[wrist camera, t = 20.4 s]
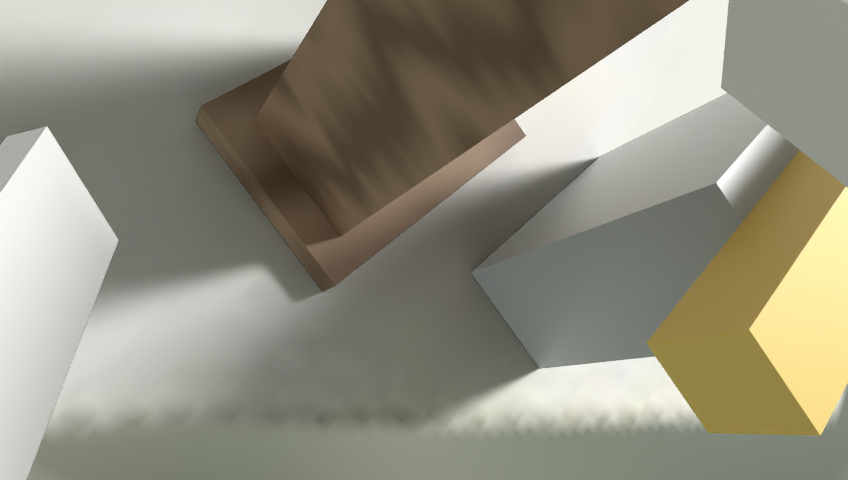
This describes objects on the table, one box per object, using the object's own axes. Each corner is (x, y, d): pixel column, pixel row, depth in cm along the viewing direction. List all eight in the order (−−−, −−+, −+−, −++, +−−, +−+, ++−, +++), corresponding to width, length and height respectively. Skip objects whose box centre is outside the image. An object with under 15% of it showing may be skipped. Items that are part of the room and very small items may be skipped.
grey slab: (470, 272, 43) (716, 182, 26) (599, 156, 51) (846, 33, 35) (539, 368, 43) (819, 338, 27) (655, 239, 52) (923, 156, 35)
